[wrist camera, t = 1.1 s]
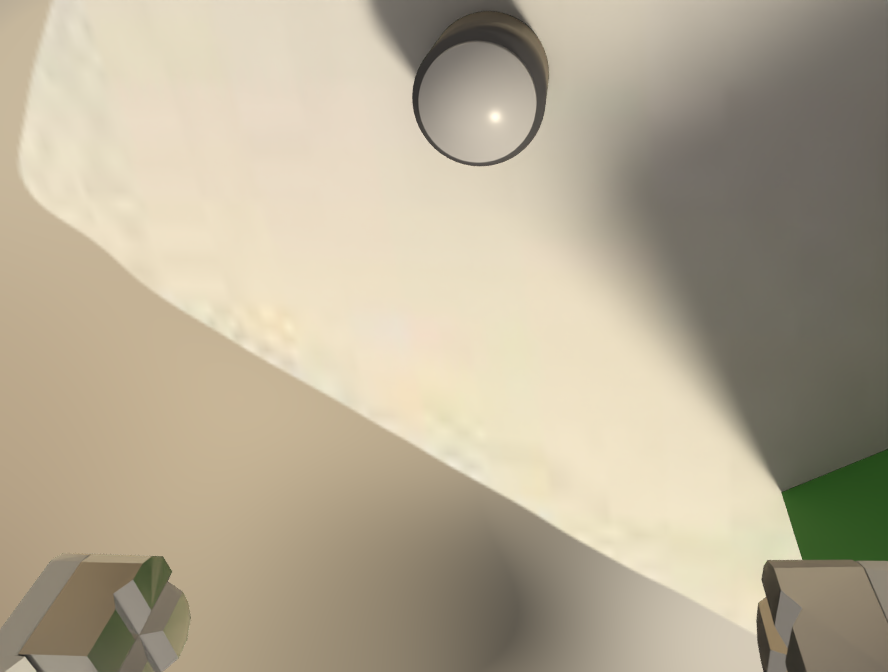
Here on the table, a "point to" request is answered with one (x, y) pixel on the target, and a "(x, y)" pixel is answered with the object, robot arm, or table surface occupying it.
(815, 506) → the hardback book
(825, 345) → the table surface
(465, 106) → the cap
